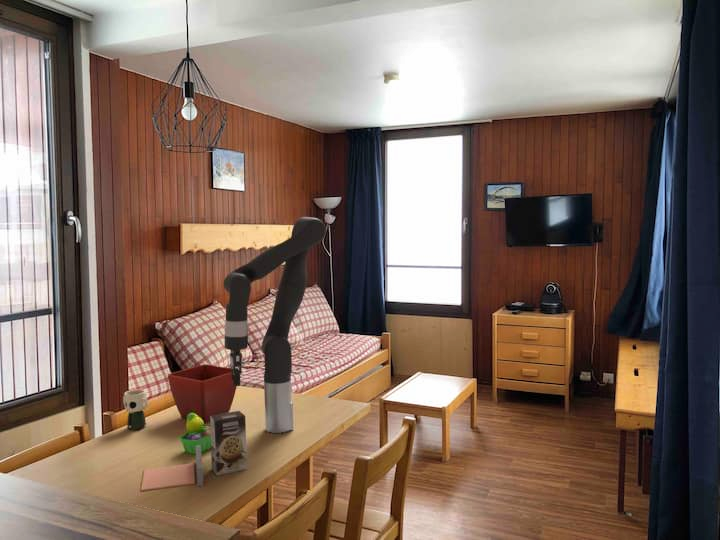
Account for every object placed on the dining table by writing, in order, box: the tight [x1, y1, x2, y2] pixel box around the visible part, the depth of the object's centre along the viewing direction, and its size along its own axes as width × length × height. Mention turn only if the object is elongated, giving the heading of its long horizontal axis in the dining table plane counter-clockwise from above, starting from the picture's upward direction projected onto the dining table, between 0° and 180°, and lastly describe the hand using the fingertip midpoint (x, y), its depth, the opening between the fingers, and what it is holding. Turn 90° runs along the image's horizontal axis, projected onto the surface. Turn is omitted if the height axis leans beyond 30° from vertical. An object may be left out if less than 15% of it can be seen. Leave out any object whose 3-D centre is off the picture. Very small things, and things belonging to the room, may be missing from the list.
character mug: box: [122, 389, 149, 430], centre depth 212 cm, size 11×7×13 cm, turn 66°
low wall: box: [195, 445, 204, 487], centre depth 172 cm, size 2×18×5 cm, turn 16°
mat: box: [140, 462, 196, 492], centre depth 170 cm, size 14×14×1 cm
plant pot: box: [167, 364, 238, 424], centre depth 223 cm, size 19×19×17 cm
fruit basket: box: [179, 413, 211, 456], centre depth 191 cm, size 11×9×11 cm
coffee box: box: [209, 410, 248, 476], centre depth 174 cm, size 9×6×16 cm
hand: (235, 382), depth 196 cm, fingers open, 8 cm apart
